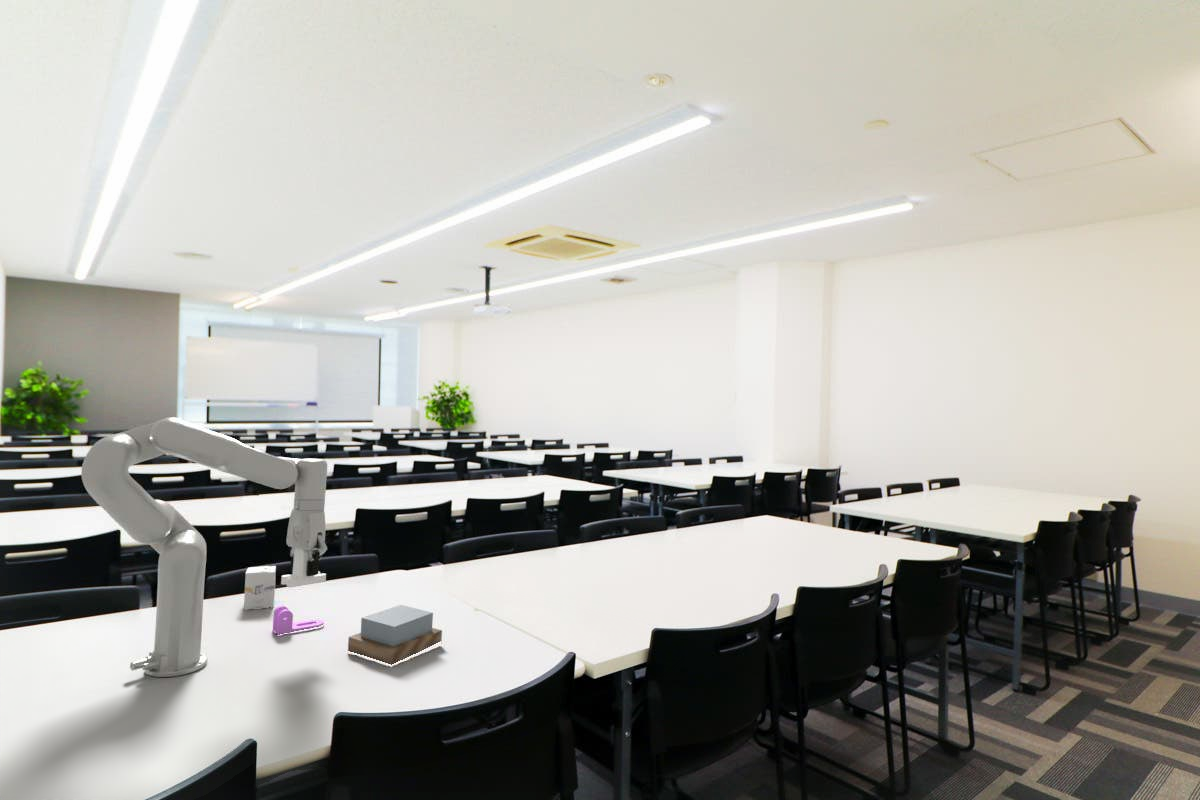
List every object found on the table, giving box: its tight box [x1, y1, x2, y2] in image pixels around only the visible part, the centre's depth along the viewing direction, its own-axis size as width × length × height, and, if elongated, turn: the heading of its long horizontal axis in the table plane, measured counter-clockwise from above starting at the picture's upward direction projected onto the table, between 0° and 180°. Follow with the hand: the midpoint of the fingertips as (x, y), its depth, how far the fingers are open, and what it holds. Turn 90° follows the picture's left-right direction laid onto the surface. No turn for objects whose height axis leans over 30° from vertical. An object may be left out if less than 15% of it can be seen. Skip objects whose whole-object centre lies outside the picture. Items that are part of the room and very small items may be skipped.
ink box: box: [243, 565, 277, 611], centre depth 204 cm, size 9×8×12 cm
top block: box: [360, 604, 434, 646], centre depth 172 cm, size 14×12×5 cm
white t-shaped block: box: [280, 547, 327, 588], centre depth 170 cm, size 5×10×10 cm, turn 141°
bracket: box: [272, 605, 325, 636], centre depth 185 cm, size 13×6×7 cm, turn 130°
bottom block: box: [347, 627, 443, 665], centre depth 172 cm, size 18×16×5 cm
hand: (304, 572), depth 169 cm, fingers closed on white t-shaped block, 5 cm apart
